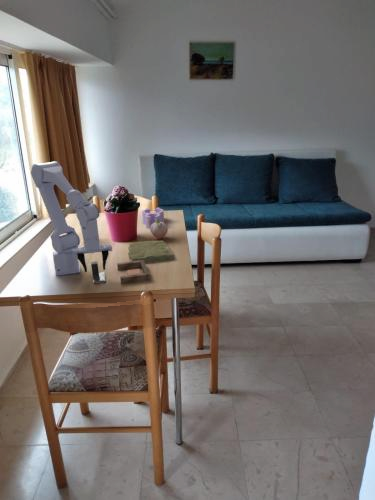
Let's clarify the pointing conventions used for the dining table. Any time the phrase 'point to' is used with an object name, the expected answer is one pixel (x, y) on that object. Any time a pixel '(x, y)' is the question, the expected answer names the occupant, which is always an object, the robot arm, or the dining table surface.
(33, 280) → the dining table surface
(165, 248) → the decorative tile
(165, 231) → the decorative fruit
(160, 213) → the purple lobed block
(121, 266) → the frame
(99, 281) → the grey block
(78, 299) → the dining table surface
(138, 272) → the salmon pink panel
